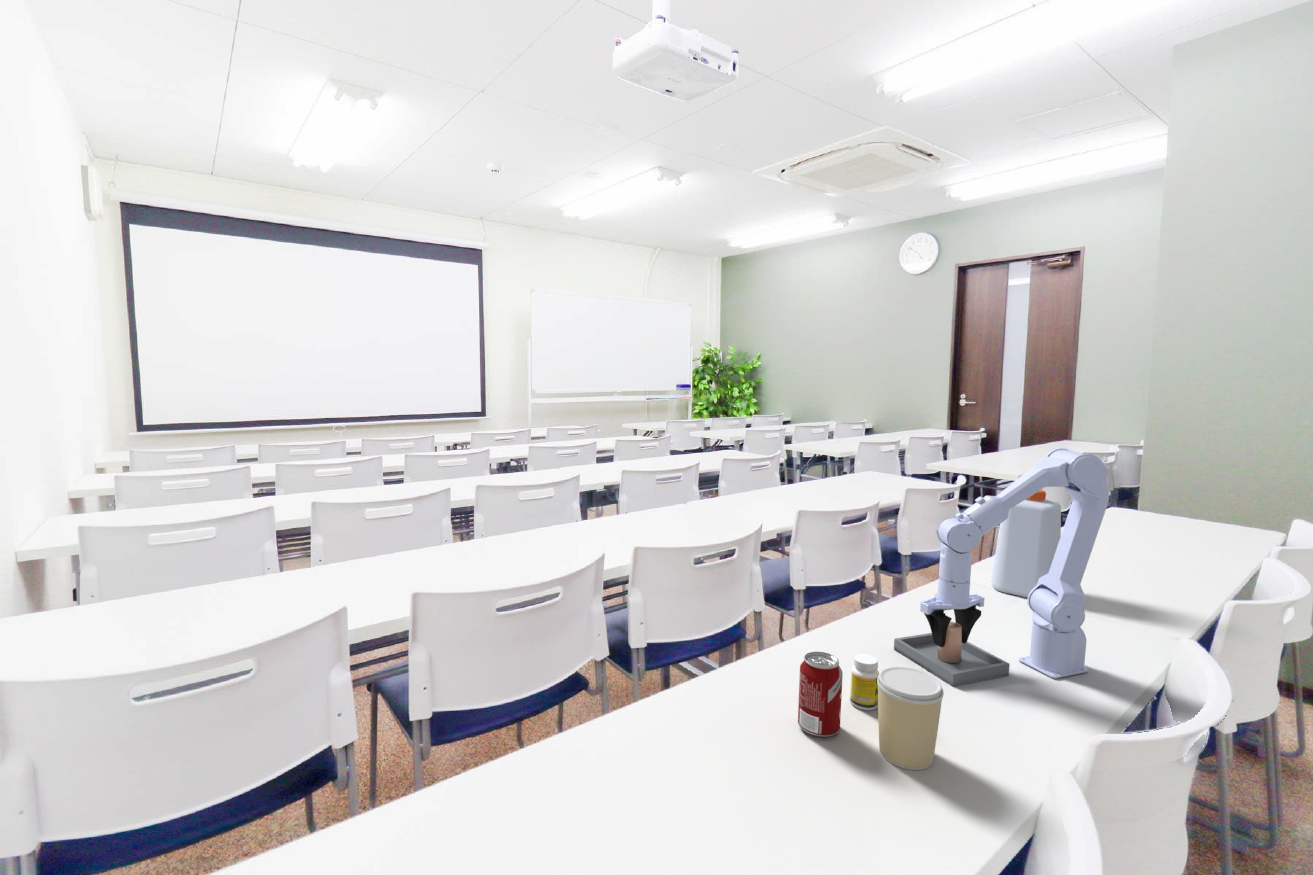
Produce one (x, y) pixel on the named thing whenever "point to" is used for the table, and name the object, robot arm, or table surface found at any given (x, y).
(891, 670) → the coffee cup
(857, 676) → the supplement bottle
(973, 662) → the tray
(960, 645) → the peach cylinder
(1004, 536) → the plastic bottle
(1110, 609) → the table surface
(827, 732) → the soda can
